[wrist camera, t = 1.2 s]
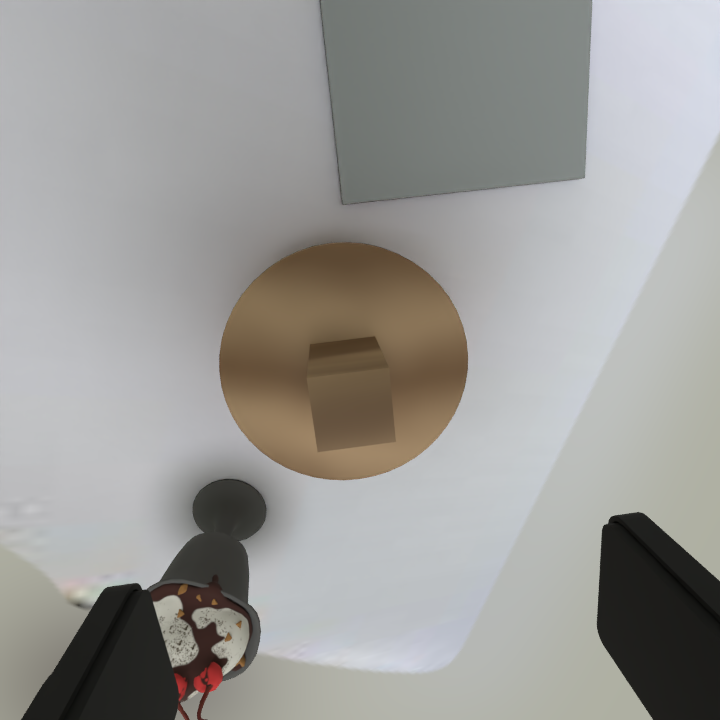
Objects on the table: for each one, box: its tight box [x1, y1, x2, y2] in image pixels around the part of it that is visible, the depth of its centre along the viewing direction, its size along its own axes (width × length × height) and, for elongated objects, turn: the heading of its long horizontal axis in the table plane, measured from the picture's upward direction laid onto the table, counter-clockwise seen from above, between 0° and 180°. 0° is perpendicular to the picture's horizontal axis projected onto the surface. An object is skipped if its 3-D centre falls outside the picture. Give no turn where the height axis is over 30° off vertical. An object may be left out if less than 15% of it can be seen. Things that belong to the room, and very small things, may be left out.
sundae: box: [147, 480, 266, 720], centre depth 24 cm, size 7×7×15 cm
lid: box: [219, 242, 468, 480], centre depth 21 cm, size 12×12×6 cm
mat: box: [320, 0, 592, 205], centre depth 24 cm, size 14×14×1 cm
